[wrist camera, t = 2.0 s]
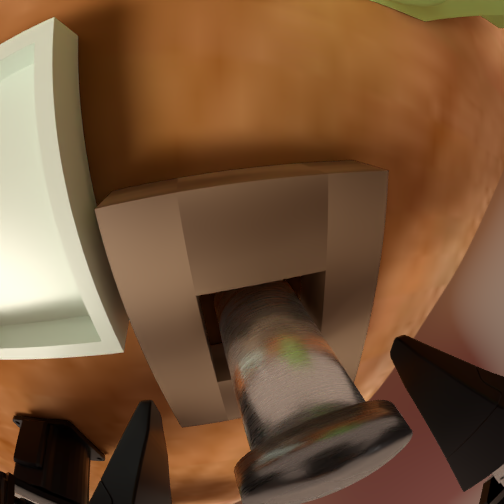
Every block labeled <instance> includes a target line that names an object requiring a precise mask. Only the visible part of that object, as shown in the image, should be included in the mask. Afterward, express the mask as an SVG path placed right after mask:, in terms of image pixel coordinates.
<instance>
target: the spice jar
mask: <svg viewBox="0 0 504 504" xmlns="http://www.w3.org/2000/svg"><path fill="white" fill-rule="evenodd" d="M214 306H215V311H216V315H217V320H218V324H219V329H220V333H221V338H222V342H223V346H224V351H225V355H226V359H227V363H228V367H229V371H230V375H231V379H232V383H233V387H234V391H235V395H236V399H237V403H238V406H239V410H240V414H241V418H242V421H243V425H244V429H245V432H246V436H247V439H248V443H249V446H250V450H251V451H250V452H248V453H247V454H246V455H245V456H244V457H242V458H241V459H240V460H239V462H238V463H237V464H236V466H235V469H234V473H235V477H236V481H237V485H238V489H239V492H240V496H241V500H242V503H243V504H301V503H305V502H308V501H312V500H315V499H317V498H321V497H323V496H326V495H329V494H331V493H333V492H336V491H338V490H341V489H343V488H345V487H347V486H349V485H351V484H353V483H355V482H357V481H359V480H361V479H362V478H364V477H366V476H368V475H369V474H371V473H372V472H374V471H376V470H377V469H379V468H380V467H382V466H383V465H384V464H386V463H387V462H388V461H389V460H391V459H392V458H393V457H394V456H396V455H397V454H398V453H399V452H400V451H401V450H402V449H403V448H404V447H405V446H406V445H407V443H408V442H409V440H410V439H411V437H412V434H413V433H412V430H411V429H410V427H409V426H408V424H407V423H406V421H405V420H404V418H403V417H402V416H401V414H400V413H399V411H398V410H397V409H396V407H395V405H394V404H393V403H391V402H389V401H385V400H374V401H367V402H365V400H364V399H363V397H362V395H361V394H360V392H359V391H358V389H357V388H356V386H355V384H354V383H353V381H352V380H351V378H350V377H349V375H348V374H347V372H346V370H345V369H344V367H343V366H342V364H341V363H340V361H339V360H338V358H337V357H336V355H335V353H334V352H333V350H332V349H331V347H330V346H329V344H328V343H327V341H326V340H325V338H324V337H323V335H322V333H321V332H320V330H319V329H318V327H317V326H316V324H315V323H314V321H313V320H312V318H311V317H310V315H309V314H308V312H307V311H306V309H305V308H304V306H303V305H302V303H301V302H300V300H299V298H298V297H297V295H296V294H295V292H294V291H293V289H292V288H291V286H290V285H289V283H288V282H287V280H286V279H283V280H278V281H273V282H268V283H263V284H258V285H252V286H247V287H242V288H237V289H231V290H226V291H221V292H216V293H215V297H214Z"/></svg>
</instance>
